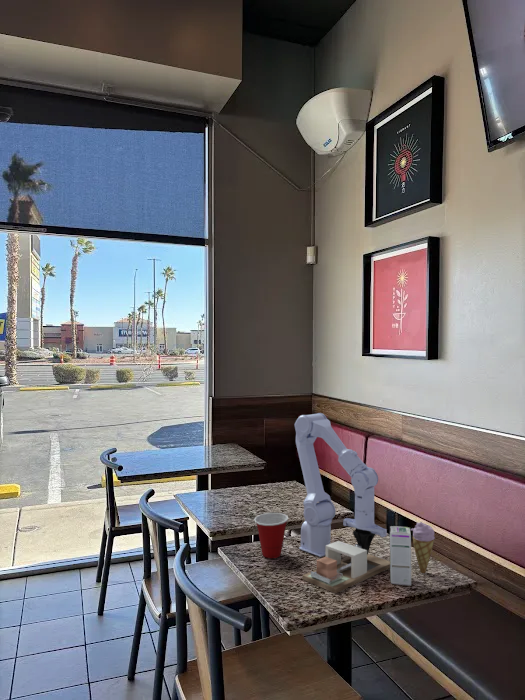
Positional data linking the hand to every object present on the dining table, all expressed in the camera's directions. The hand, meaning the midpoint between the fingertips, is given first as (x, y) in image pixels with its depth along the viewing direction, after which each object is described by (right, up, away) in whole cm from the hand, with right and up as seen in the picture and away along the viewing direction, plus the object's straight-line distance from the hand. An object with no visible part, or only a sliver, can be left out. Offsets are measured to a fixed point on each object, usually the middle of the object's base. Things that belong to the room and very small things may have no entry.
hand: (364, 554), depth 161 cm
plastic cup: (-28, -3, +8) cm, 29 cm away
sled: (-8, -2, -8) cm, 11 cm away
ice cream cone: (+16, -4, -4) cm, 17 cm away
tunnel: (-6, -2, -6) cm, 9 cm away
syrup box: (+8, -4, -10) cm, 14 cm away
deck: (-5, -3, -5) cm, 8 cm away
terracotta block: (-13, -1, -12) cm, 18 cm away
